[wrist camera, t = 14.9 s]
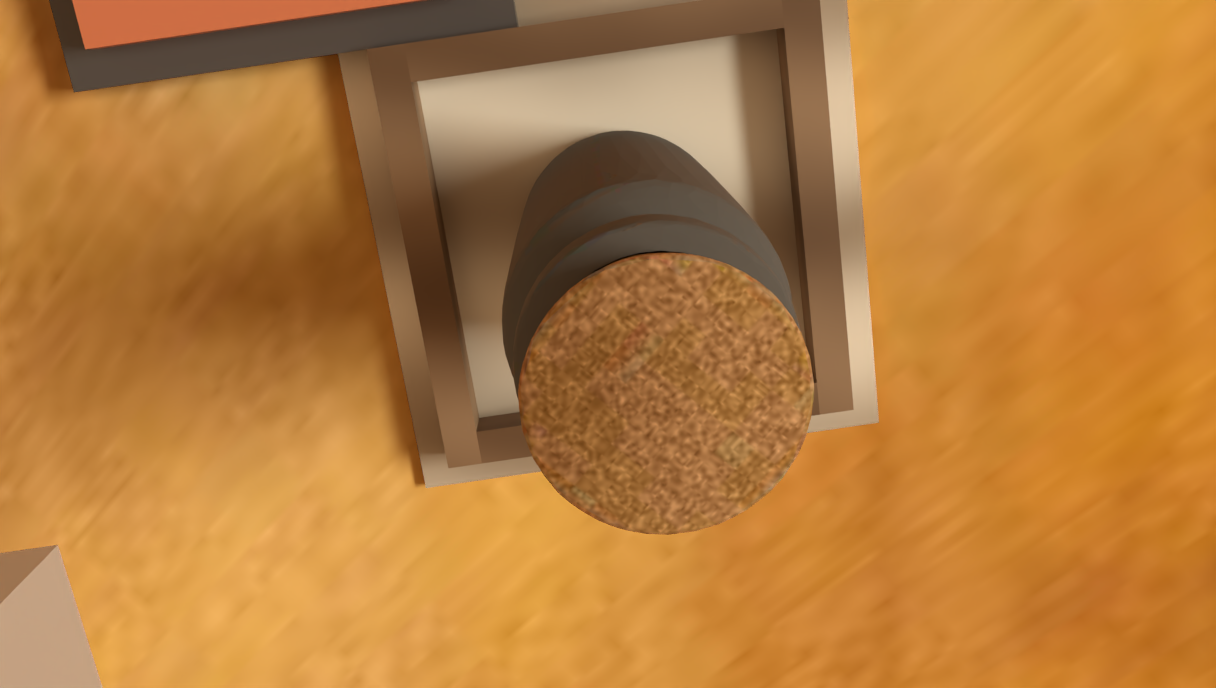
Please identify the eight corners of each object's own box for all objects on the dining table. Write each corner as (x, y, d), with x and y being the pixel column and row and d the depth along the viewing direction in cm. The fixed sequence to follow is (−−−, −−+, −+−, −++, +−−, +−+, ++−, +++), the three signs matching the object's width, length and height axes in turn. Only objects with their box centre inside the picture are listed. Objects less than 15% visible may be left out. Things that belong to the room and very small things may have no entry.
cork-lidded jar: (590, 365, 33) (607, 628, 18) (482, 198, 31) (408, 344, 17) (760, 263, 32) (915, 455, 18) (658, 88, 31) (737, 142, 16)
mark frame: (332, 15, 30) (320, 15, 29) (839, -59, 30) (853, -63, 29) (427, 484, 34) (420, 504, 33) (876, 419, 34) (889, 436, 33)
